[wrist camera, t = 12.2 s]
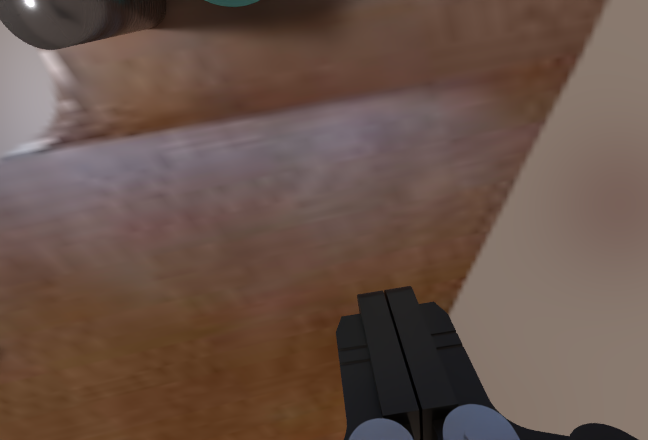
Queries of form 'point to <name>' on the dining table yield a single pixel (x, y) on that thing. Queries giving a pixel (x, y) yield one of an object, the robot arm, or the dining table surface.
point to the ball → (232, 2)
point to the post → (77, 20)
